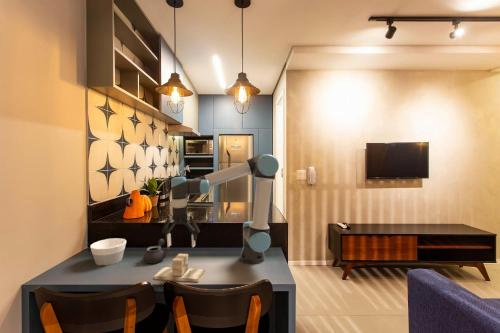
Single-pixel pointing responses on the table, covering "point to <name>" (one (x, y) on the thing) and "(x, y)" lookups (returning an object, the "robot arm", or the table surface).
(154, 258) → the teapot
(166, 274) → the board
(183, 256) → the sanding block
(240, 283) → the table surface
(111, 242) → the bowl
